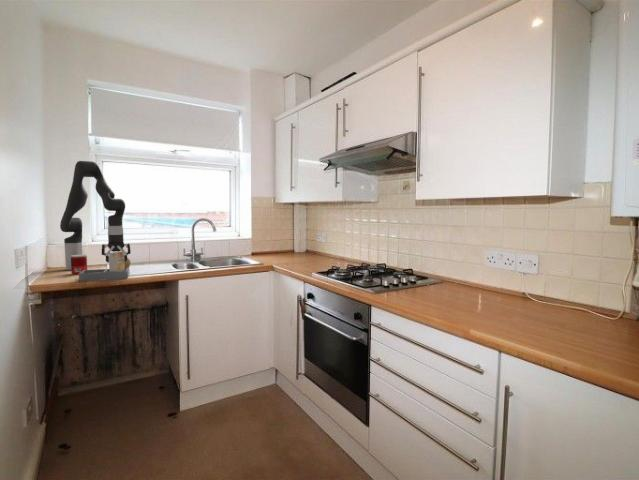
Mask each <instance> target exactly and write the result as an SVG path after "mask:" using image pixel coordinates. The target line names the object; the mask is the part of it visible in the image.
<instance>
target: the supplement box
mask: <svg viewBox="0 0 639 480" xmlns="http://www.w3.org/2000/svg"><path fill="white" fill-rule="evenodd" d="M108 256H109V263H108V266H109V267H108V269H109V272H116V271H125V264H124V254H123V253H122V252H121V251H119V252H117V251H115V252H113V251H112V252H110V253H109V255H108Z"/></svg>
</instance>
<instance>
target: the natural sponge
mask: <svg viewBox="0 0 639 480" xmlns="http://www.w3.org/2000/svg"><path fill="white" fill-rule="evenodd" d="M124 264H125V268H129V269H130V266H131V260H130V258H128V257H127V261H126V262H124Z"/></svg>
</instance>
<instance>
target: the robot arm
mask: <svg viewBox="0 0 639 480" xmlns="http://www.w3.org/2000/svg"><path fill="white" fill-rule="evenodd" d="M84 178H94V179H95V180H96V183H95V190H96V193H97V195H99V196H100V198H101V201H102V205H103V208H104V209H105V210H107V211H109V212H115V213H114V214H112V215H109V216H108V218H107V221H108V223H107V225H108V226H107V237H108V238H107V239H108V240H107V241H108V243H107V244H101V255H102V256H105V262H106V263H108V264H109V253H113V252H122V253H123V254H124V262H126V261H127V258H128V256H129V255H130V254H131V244H130V243H125V241H124V227H123V218H124V214H125V210H126V202H125V200H124V199H122V198H116V197H115V196H116V194H115V192H114V191H113V190H112V188H111V187H110V186H109V184H108V182H107V181H106V179H105V177H104V174H103V173H102V170H101V168H100V166H99V164H97V163H96V162H95V161H89V160H78V161H77V162H76V163H75V165H74V171H73V178H72V183H71V187H70V191H69V193H68V197H67V202H66V206H65V210H64V212H63V214H62V217H61V220H60V225H59V226H60V227H59V228H60V231H61V232H63V233H73V234H71V235H70V236H68V237H66V238H64V239H63V240H64V241H63V242H64V245H63V246H64V258H65V259H64V261H65V262H64V264H65V270H66V271H71V256H72V255H83V221H82V219H81V218H80V217H74V216H75V214H77V213H78V212H79V211H81V210H83V208H84V207H85V206H86V203H87V199H88V191H87V190H86V188H85V186H84V184H83V180H84ZM107 248H108V249H109V250H108V251H107V252H106V249H107ZM124 248H127V251H125V249H124Z"/></svg>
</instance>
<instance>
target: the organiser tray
mask: <svg viewBox="0 0 639 480" xmlns="http://www.w3.org/2000/svg"><path fill="white" fill-rule="evenodd" d="M128 276H130V267H129V268H125V271H116V272H109V268H101V269H99V268H98V269H87V270H83V271H82V272H80V273H79V274H78V282H86V281H103V280H115V279H116V280H118V279H119V278H122V279H128V278H129V277H128Z"/></svg>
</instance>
